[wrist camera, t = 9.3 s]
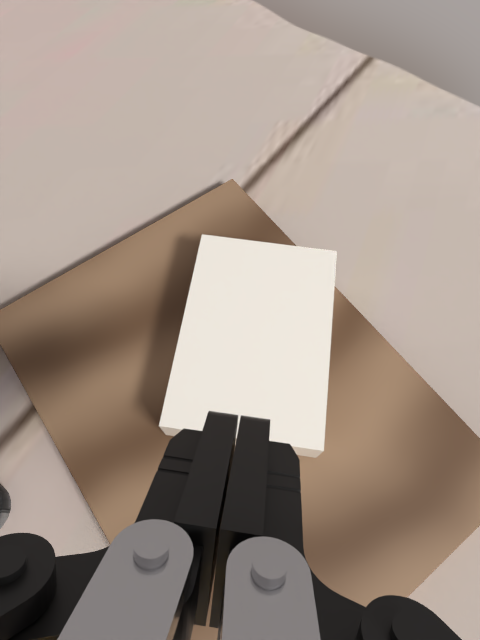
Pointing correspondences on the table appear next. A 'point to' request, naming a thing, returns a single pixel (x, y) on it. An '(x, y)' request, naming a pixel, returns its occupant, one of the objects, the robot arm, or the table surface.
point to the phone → (4, 505)
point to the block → (255, 340)
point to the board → (315, 473)
